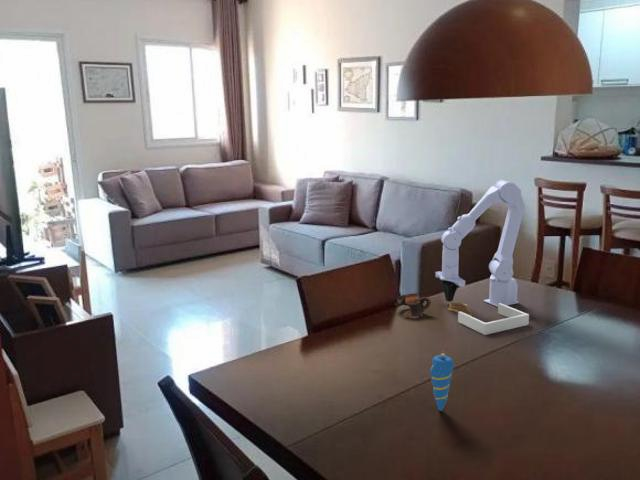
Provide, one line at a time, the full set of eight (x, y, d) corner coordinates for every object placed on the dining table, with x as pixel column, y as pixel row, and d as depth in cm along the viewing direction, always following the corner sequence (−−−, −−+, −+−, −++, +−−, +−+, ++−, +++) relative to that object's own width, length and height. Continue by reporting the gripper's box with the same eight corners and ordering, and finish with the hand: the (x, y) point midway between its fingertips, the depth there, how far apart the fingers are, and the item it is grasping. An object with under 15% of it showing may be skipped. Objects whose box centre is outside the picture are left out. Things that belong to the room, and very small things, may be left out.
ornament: (436, 403, 137) (437, 344, 133) (456, 409, 133) (458, 350, 130) (425, 412, 133) (426, 352, 129) (446, 419, 129) (447, 357, 126)
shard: (471, 318, 192) (472, 313, 192) (448, 318, 194) (448, 313, 193) (468, 307, 203) (468, 303, 202) (446, 307, 204) (447, 302, 204)
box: (500, 312, 196) (500, 303, 195) (528, 324, 184) (529, 314, 184) (458, 321, 188) (458, 311, 188) (484, 335, 177) (485, 324, 176)
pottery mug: (397, 319, 193) (392, 296, 196) (401, 322, 202) (396, 300, 205) (432, 312, 191) (427, 288, 193) (434, 315, 200) (429, 292, 202)
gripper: (428, 261, 208) (428, 296, 211) (454, 270, 195) (453, 308, 198) (444, 259, 211) (443, 294, 214) (470, 267, 198) (469, 305, 201)
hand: (449, 300), depth 206 cm, fingers closed
